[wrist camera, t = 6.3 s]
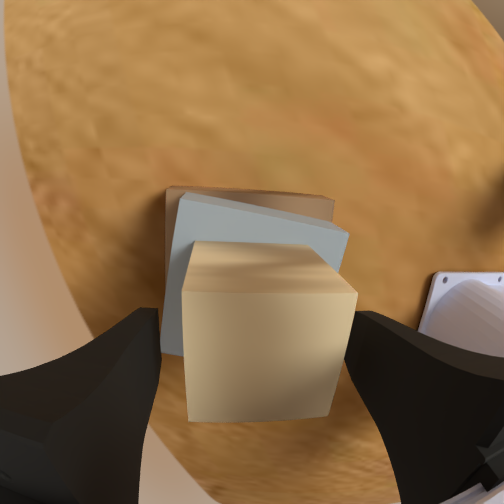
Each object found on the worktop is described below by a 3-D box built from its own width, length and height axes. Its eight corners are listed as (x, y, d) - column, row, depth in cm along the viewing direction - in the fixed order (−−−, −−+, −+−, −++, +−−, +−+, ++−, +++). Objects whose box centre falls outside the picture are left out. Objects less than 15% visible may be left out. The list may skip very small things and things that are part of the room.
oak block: (307, 244, 13) (358, 293, 8) (295, 340, 14) (327, 416, 9) (194, 240, 12) (181, 290, 7) (195, 340, 13) (188, 421, 9)
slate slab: (329, 221, 15) (349, 233, 13) (293, 343, 17) (303, 370, 15) (186, 191, 14) (180, 198, 12) (166, 325, 16) (159, 352, 13)
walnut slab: (318, 194, 17) (334, 200, 15) (301, 322, 20) (311, 343, 17) (173, 184, 16) (166, 189, 14) (172, 319, 18) (167, 340, 16)
